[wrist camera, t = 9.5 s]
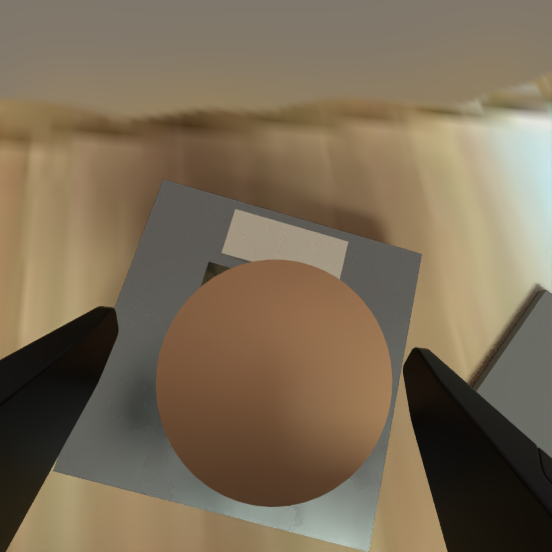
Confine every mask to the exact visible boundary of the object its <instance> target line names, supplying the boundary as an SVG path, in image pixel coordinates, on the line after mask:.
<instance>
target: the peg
mask: <svg viewBox="0 0 552 552" xmlns="http://www.w3.org/2000/svg"><path fill="white" fill-rule="evenodd" d="M156 396H157V405H158V410H159V415H160V419H161V422H162V425H163V428H164V431H165V433H166V436H167V438H168V440H169V442H170V444H171V446H172V448H173V450H174V451H175V453H176V454H177V456H178V457H179V458H180V460H181V461H182V463H183V464H184V465H185V466H186V467H187V468H188V469H189V470H190V472H191V473H192V474H193V475H194V476H195V477H196V478H198V479H199V480H200V481H201V482H203V483H204V484H205V485H206V486H208V487H209V488H211V489H213V490H214V491H216V492H218V493H219V494H221V495H223V496H225V497H228V498H230V499H233V500H235V501H238V502H241V503H246V504H250V505H254V506H264V507H282V506H291V505H296V504H300V503H305V502H308V501H310V500H313V499H316V498H318V497H321V496H323V495H324V494H326V493H328V492H330V491H332V490H334V489H335V488H337V487H338V486H339V485H341V484H342V483H343V482H345V481H346V480H347V479H349V478H350V477H351V476H352V475H353V474H354V473H355V472H356V471H357V470H358V469H359V468H360V467H361V465H362V464H363V463H364V462H365V460H366V459H367V458H368V457H369V455H370V454H371V452H372V450H373V449H374V447H375V445H376V444H377V442H378V440H379V438H380V436H381V433H382V431H383V429H384V426H385V423H386V420H387V416H388V413H389V408H390V402H391V396H392V369H391V361H390V356H389V351H388V347H387V344H386V341H385V338H384V335H383V333H382V331H381V329H380V326H379V324H378V322H377V320H376V319H375V317H374V315H373V314H372V312H371V311H370V309H369V308H368V306H367V305H366V304H365V303H364V302H363V300H362V299H361V298H360V297H359V296H358V295H357V294H356V293H355V292H354V291H353V290H352V289H351V288H350V287H349V286H348V285H346V284H345V283H344V282H342V281H341V280H339V279H338V278H337V277H335V276H333V275H331V274H330V273H328V272H326V271H324V270H322V269H319V268H317V267H314V266H312V265H308V264H305V263H301V262H297V261H290V260H261V261H254V262H250V263H246V264H242V265H239V266H236V267H234V268H231V269H229V270H226V271H224V272H223V273H221V274H219V275H217V276H215V277H214V278H212V279H211V280H209V281H208V282H207V283H205V284H204V285H203V286H201V287H200V288H199V289H198V290H197V291H196V292H195V293H194V294H193V295H192V296H191V297H189V299H188V300H187V301H186V302H185V304H184V305H183V306H182V307H181V309H180V310H179V311H178V313H177V315H176V316H175V318H174V319H173V321H172V323H171V325H170V327H169V329H168V331H167V333H166V335H165V338H164V341H163V344H162V347H161V350H160V353H159V359H158V364H157V371H156Z"/></svg>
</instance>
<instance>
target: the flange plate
mask: <svg viewBox="0 0 552 552" xmlns="http://www.w3.org/2000/svg"><path fill="white" fill-rule="evenodd" d="M421 256H422V254H420V253H417V252H413V251H410V250H406V249H403V248H399V247H396V246H392V245H389V244H385V243H382V242H379V241H375V240H372V239H368V238H365V237H361V236H358V235H354V234H351V233H348V232H344V231H341V230H337V229H334V228H330V227H327V226H323V225H320V224H316V223H313V222H310V221H306V220H303V219H299V218H296V217H292V216H289V215H285V214H282V213H278V212H275V211H272V210H268V209H265V208H261V207H258V206H254V205H251V204H247V203H244V202H241V201H237V200H234V199H230V198H227V197H223V196H220V195H216V194H213V193H209V192H206V191H203V190H199V189H196V188H192V187H189V186H185V185H182V184H178V183H175V182H171V181H168V180H165V179H163V181H162V184H161V187H160V189H159V192H158V194H157V197H156V200H155V202H154V205H153V208H152V210H151V213H150V216H149V218H148V221H147V224H146V226H145V229H144V232H143V234H142V237H141V239H140V242H139V245H138V247H137V250H136V253H135V255H134V258H133V261H132V263H131V266H130V269H129V271H128V274H127V277H126V279H125V282H124V285H123V287H122V290H121V292H120V295H119V298H118V300H117V303H116V306H115V308H114V309H115V310H116V315H117V321H118V327H119V332H118V336H117V339H116V341H115V344H114V346H113V349H112V351H111V354H110V356H109V358H108V361H107V363H106V366H105V368H104V371H103V373H102V376H101V378H100V380H99V382H98V384H97V386H96V388H95V390H94V392H93V394H92V396H91V397H90V399H89V401H88V403H87V405H86V407H85V408H84V410H83V412H82V414H81V416H80V417H79V419H78V421H77V423H76V425H75V427H74V428H73V430H72V432H71V434H70V436H69V438H68V439H67V441H66V443H65V445H64V447H63V448H62V450H61V452H60V454H59V457H58V459H57V462H56V465H55V467H54V470H53V471H55V472H59V473H62V474H66V475H70V476H74V477H78V478H82V479H86V480H90V481H94V482H98V483H102V484H105V485H109V486H113V487H117V488H121V489H125V490H129V491H133V492H137V493H141V494H144V495H148V496H152V497H156V498H160V499H164V500H168V501H172V502H176V503H180V504H183V505H187V506H191V507H195V508H199V509H203V510H207V511H211V512H215V513H219V514H222V515H226V516H230V517H234V518H238V519H242V520H246V521H250V522H254V523H258V524H261V525H265V526H269V527H273V528H277V529H281V530H285V531H289V532H293V533H297V534H300V535H304V536H308V537H312V538H316V539H320V540H324V541H328V542H332V543H336V544H340V545H343V546H347V547H351V548H355V549H359V550H363V551H367V552H369V547H370V542H371V536H372V530H373V525H374V519H375V514H376V508H377V502H378V497H379V491H380V486H381V480H382V474H383V469H384V463H385V458H386V452H387V446H388V441H389V435H390V430H391V424H392V418H393V413H394V407H395V402H396V396H397V390H398V385H399V379H400V374H401V368H402V362H403V357H404V351H405V346H406V340H407V334H408V329H409V323H410V318H411V312H412V306H413V301H414V295H415V290H416V284H417V279H418V273H419V267H420V262H421ZM261 260H290V261H297V262H301V263H305V264H308V265H312V266H314V267H317V268H319V269H322V270H324V271H326V272H328V273H330V274H331V275H333V276H335V277H337V278H338V279H339V280H341V281H342V282H344V283H345V284H346V285H348V286H349V287H350V288H351V289H352V290H353V291H354V292H355V293H356V294H357V295H358V296H359V297H360V298H361V299H362V300H363V302H364V303H365V304H366V305H367V306H368V308H369V309H370V311H371V312H372V314H373V315H374V317H375V319H376V320H377V322H378V324H379V326H380V329H381V331H382V333H383V335H384V338H385V341H386V344H387V347H388V351H389V356H390V361H391V369H392V396H391V402H390V408H389V413H388V416H387V420H386V423H385V426H384V429H383V431H382V433H381V436H380V438H379V440H378V442H377V444H376V445H375V447H374V449H373V450H372V452H371V454H370V455H369V457H368V458H367V459H366V460H365V462H364V463H363V464H362V465H361V467H360V468H359V469H358V470H357V471H356V472H355V473H354V474H353V475H352V476H351V477H350V478H349V479H347V480H346V481H345V482H343V483H342V484H341V485H339V486H338V487H337V488H335V489H334V490H332V491H330V492H328V493H326V494H324V495H323V496H321V497H318V498H316V499H313V500H310V501H308V502H305V503H300V504H296V505H291V506H282V507H264V506H254V505H250V504H246V503H241V502H238V501H235V500H233V499H230V498H228V497H225V496H223V495H221V494H219V493H218V492H216V491H214V490H213V489H211V488H209V487H208V486H206V485H205V484H204V483H203V482H201V481H200V480H199V479H198V478H196V477H195V476H194V475H193V474H192V473H191V472H190V470H189V469H188V468H187V467H186V466H185V465H184V464H183V463H182V461H181V460H180V458H179V457H178V456H177V454H176V453H175V451H174V450H173V448H172V446H171V444H170V442H169V440H168V438H167V436H166V433H165V431H164V428H163V425H162V422H161V419H160V415H159V410H158V405H157V396H156V371H157V364H158V359H159V353H160V350H161V347H162V344H163V341H164V338H165V335H166V333H167V331H168V329H169V327H170V325H171V323H172V321H173V319H174V318H175V316H176V315H177V313H178V311H179V310H180V309H181V307H182V306H183V305H184V304H185V302H186V301H187V300H188V299H189V297H191V296H192V295H193V294H194V293H195V292H196V291H197V290H198V289H199V288H200V287H201V286H203V285H204V284H205V283H207V282H208V281H209V280H211V279H212V278H214V275H215V274H218V275H219V274H221V273H223V272H224V271H226V270H229V269H231V268H234V267H236V266H239V265H242V264H246V263H250V262H254V261H261Z"/></svg>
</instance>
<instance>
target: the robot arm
mask: <svg viewBox="0 0 552 552" xmlns="http://www.w3.org/2000/svg"><path fill="white" fill-rule="evenodd" d="M118 332H119V327H118V321H117V315H116V310H115V309H114V308H112V307H104V306H99V307H97V308H95V309H93V310H91V311H89V312H87V313H86V314H84V315H82V316H80V317H78V318H76V319H75V320H73V321H71V322H69V323H67V324H65V325H63V326H62V327H60V328H58V329H56V330H54V331H52V332H51V333H49V334H47V335H45V336H43V337H41V338H40V339H38V340H36V341H34V342H32V343H30V344H29V345H27V346H25V347H23V348H21V349H19V350H17V351H16V352H14V353H12V354H10V355H8V356H6V357H5V358H3V359H1V360H0V552H6V550H7V548H8V547H9V545H10V543H11V541H12V539H13V538H14V536H15V534H16V532H17V530H18V528H19V527H20V525H21V523H22V521H23V519H24V518H25V516H26V514H27V512H28V510H29V508H30V507H31V505H32V503H33V501H34V499H35V498H36V496H37V494H38V492H39V490H40V488H41V487H42V485H43V483H44V481H45V479H46V478H47V476H48V474H49V472H50V470H51V468H52V467H53V465H54V463H55V461H56V459H57V458H58V456H59V454H60V452H61V450H62V448H63V447H64V445H65V443H66V441H67V439H68V438H69V436H70V434H71V432H72V430H73V428H74V427H75V425H76V423H77V421H78V419H79V417H80V416H81V414H82V412H83V410H84V408H85V407H86V405H87V403H88V401H89V399H90V397H91V396H92V394H93V392H94V390H95V388H96V386H97V384H98V382H99V380H100V378H101V376H102V373H103V371H104V368H105V366H106V363H107V361H108V358H109V356H110V354H111V351H112V349H113V346H114V344H115V341H116V339H117V336H118ZM403 376H404V382H405V388H406V394H407V400H408V406H409V412H410V417H411V421H412V425H413V429H414V433H415V436H416V440H417V443H418V447H419V451H420V454H421V458H422V461H423V465H424V469H425V472H426V476H427V479H428V483H429V486H430V490H431V494H432V497H433V501H434V504H435V508H436V512H437V515H438V519H439V522H440V526H441V530H442V533H443V537H444V540H445V544H446V548H447V551H448V552H552V458H551V457H550V456H549V455H548V454H547V453H546V452H544V451H543V450H542V449H541V448H539V447H537V445H536V444H535V443H534V442H533V441H532V440H531V439H530V438H528V437H527V436H526V435H525V434H524V433H523V432H522V431H521V430H519V429H518V428H517V427H516V426H515V425H514V424H513V423H511V422H510V421H509V420H508V419H507V418H506V417H505V416H504V415H502V414H501V413H500V412H499V411H498V410H497V409H496V408H495V407H493V406H492V405H491V404H490V403H489V402H488V401H487V400H485V399H484V398H483V397H482V396H481V395H480V394H479V393H478V392H476V391H475V390H474V389H473V388H472V387H471V386H470V385H468V384H467V383H466V382H465V381H464V380H463V379H462V378H461V377H459V376H458V375H457V374H456V373H455V372H454V371H453V370H452V369H450V368H449V367H448V366H447V365H446V364H445V363H444V362H442V361H441V360H440V359H439V358H438V357H437V356H436V355H435V354H433V353H432V352H431V351H430V350H428V349H426V348H418V347H416V348H413V349H412V351H411V353H410V354H409V356H408V358H407V360H406V362H405V363H404V366H403Z"/></svg>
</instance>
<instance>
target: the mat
mask: <svg viewBox="0 0 552 552" xmlns="http://www.w3.org/2000/svg"><path fill="white" fill-rule="evenodd" d="M472 388H473V389H474V390H475V391H476V392H478V393H479V394H480V395H481V396H482V397H483V398H484V399H485V400H487V401H488V402H489V403H490V404H491V405H492V406H493V407H495V408H496V409H497V410H498V411H499V412H500V413H501V414H502V415H504V416H505V417H506V418H507V419H508V420H509V421H510V422H511V423H513V424H514V425H515V426H516V427H517V428H518V429H519V430H521V431H522V432H523V433H524V434H525V435H526V436H527V437H528V438H530V439H531V440H532V441H533V442H534V443H535V444H536V445H537V447H539V448H541V449H542V450H543V451H544V452H546V453H547V454H548V455H549V456H550V457H551V458H552V294H551V293H550V292H548V291H547V290H543V291H539V292H538V294H537V295H536V296H535V298H534V299H533V301H532V302H531V304H530V305H529V307H528V308H527V309H526V311H525V312H524V314H523V315H522V317H521V318H520V319H519V321H518V322H517V324H516V325H515V327H514V328H513V330H512V331H511V332H510V334H509V335H508V337H507V338H506V340H505V341H504V342H503V344H502V345H501V347H500V348H499V350H498V351H497V353H496V354H495V355H494V357H493V358H492V360H491V361H490V363H489V364H488V365H487V367H486V368H485V370H484V371H483V373H482V374H481V376H480V377H479V378H478V380H477V381H476V383H475V384H474V386H473V387H472Z"/></svg>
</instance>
